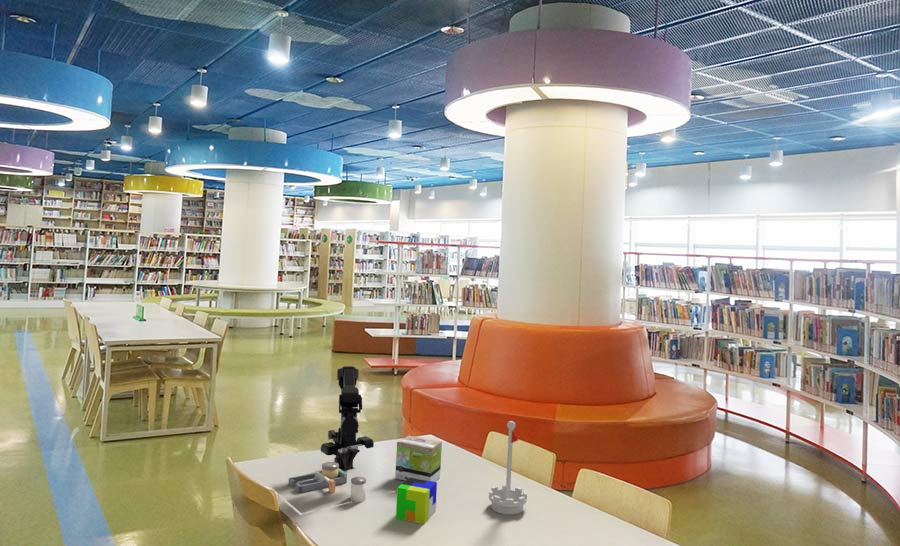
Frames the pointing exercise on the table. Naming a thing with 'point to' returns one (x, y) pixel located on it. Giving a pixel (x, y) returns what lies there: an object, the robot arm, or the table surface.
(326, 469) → the ochre jar
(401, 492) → the puzzle toy
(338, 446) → the robot arm
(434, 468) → the tea box
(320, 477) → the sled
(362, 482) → the white jar
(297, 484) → the grey flat frame
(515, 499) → the flag stand
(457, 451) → the table surface
